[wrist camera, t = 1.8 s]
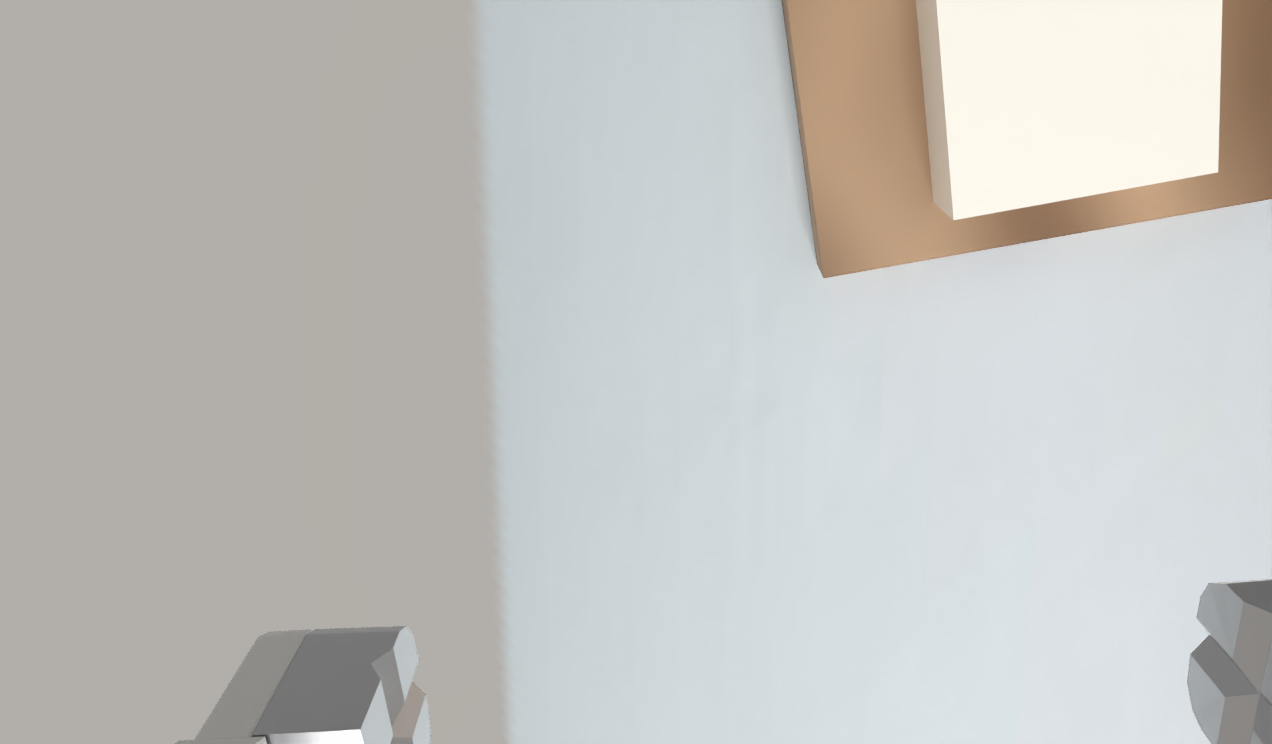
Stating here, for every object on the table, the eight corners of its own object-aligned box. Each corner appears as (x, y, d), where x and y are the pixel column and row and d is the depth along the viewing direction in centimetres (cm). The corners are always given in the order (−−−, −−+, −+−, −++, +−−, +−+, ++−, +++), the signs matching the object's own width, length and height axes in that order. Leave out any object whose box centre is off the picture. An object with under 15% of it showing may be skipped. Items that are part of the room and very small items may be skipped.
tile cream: (1178, -58, 22) (1224, -61, 20) (1176, 157, 24) (1218, 172, 22) (915, -3, 23) (936, -1, 21) (933, 202, 25) (953, 220, 23)
